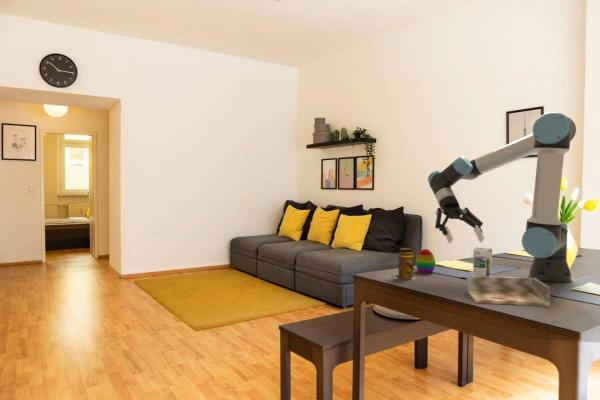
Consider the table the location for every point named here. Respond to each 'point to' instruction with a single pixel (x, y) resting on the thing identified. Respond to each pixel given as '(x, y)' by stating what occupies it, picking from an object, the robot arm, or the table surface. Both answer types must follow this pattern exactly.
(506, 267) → the table surface
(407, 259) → the condiment
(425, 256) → the decorative egg
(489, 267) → the syrup box
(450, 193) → the robot arm
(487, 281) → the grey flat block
